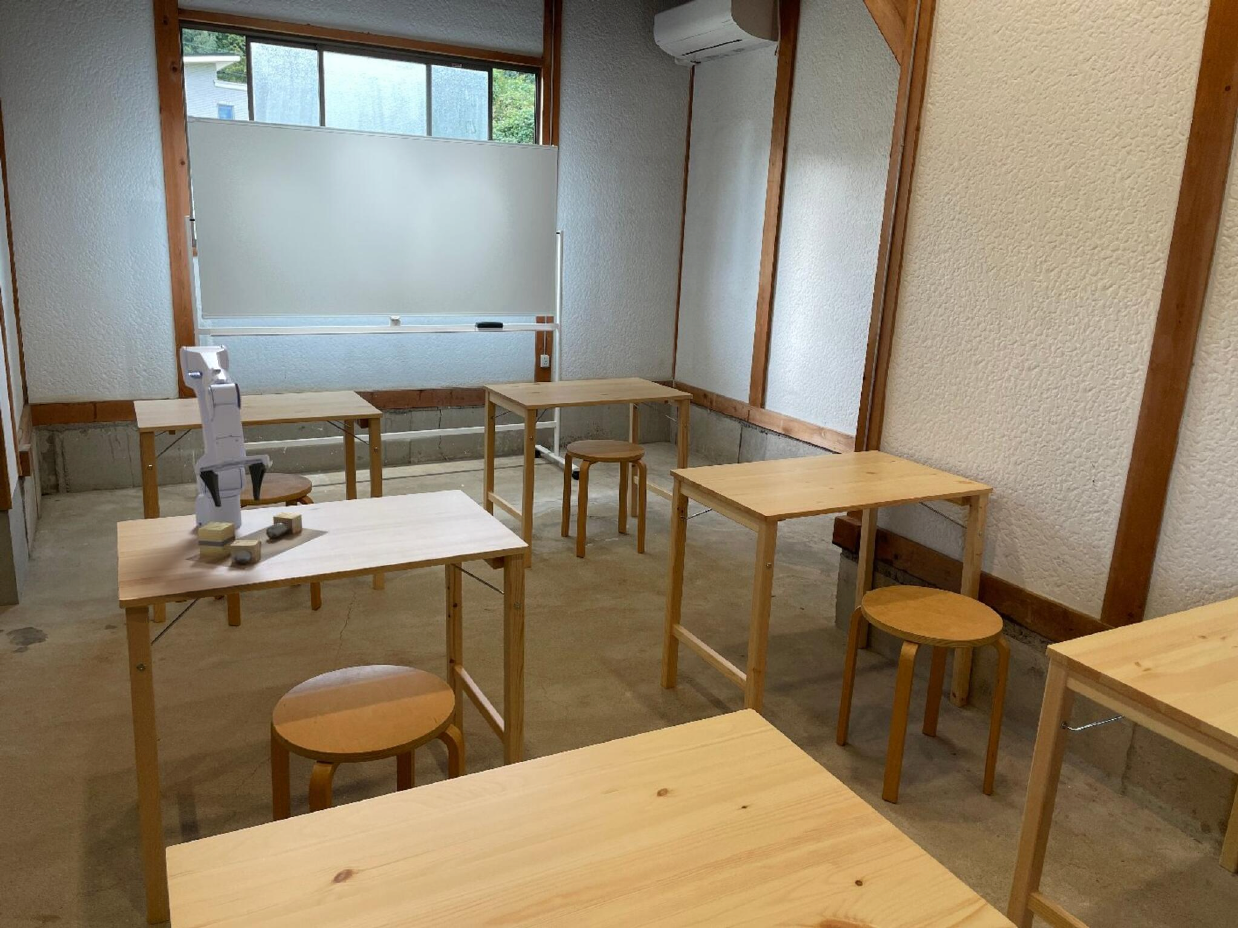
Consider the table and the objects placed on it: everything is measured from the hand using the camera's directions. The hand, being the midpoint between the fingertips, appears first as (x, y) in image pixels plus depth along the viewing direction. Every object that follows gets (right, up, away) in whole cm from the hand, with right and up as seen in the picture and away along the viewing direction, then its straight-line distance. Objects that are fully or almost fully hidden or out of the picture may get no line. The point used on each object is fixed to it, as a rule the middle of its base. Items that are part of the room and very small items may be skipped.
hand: (237, 503), depth 184 cm
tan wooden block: (-4, -11, +1) cm, 11 cm away
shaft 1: (+3, -11, -1) cm, 12 cm away
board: (+2, -10, +7) cm, 13 cm away
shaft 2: (+4, -7, +15) cm, 17 cm away
